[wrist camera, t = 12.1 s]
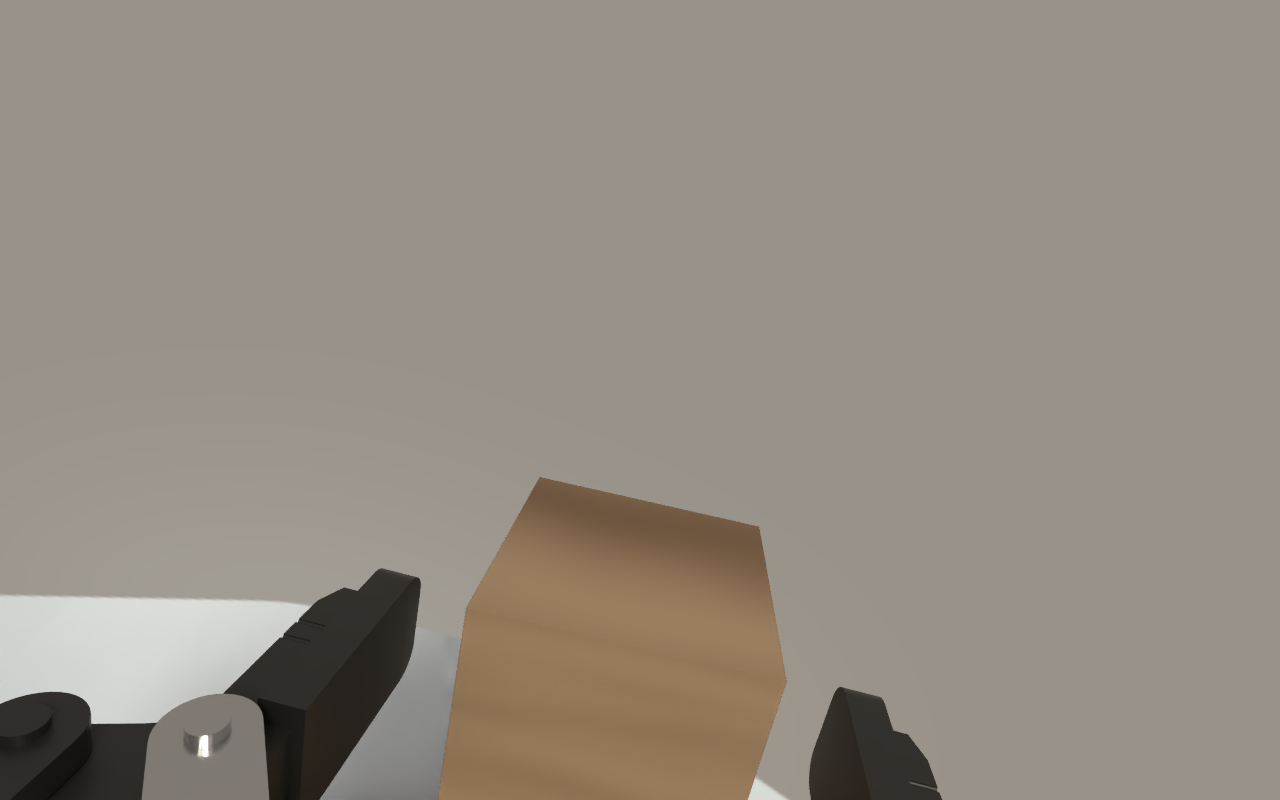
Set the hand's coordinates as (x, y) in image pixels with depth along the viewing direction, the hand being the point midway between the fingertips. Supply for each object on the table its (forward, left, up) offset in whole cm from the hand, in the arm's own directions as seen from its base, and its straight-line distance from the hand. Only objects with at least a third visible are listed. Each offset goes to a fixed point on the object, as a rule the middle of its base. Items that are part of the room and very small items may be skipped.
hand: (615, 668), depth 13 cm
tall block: (0, +1, -8) cm, 8 cm away
